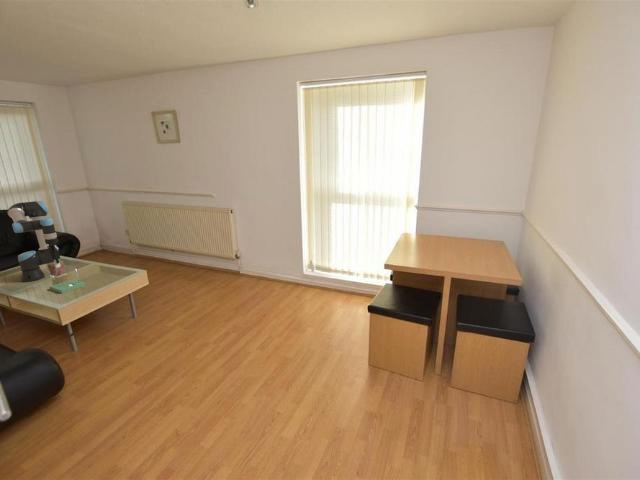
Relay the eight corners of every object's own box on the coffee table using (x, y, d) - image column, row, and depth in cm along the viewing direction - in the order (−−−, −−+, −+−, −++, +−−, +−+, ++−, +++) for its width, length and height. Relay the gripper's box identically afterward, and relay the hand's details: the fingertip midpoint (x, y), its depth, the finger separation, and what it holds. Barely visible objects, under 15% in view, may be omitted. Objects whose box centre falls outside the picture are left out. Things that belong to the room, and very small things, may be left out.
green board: (50, 289, 244) (49, 286, 243) (73, 282, 257) (72, 279, 257) (62, 293, 236) (61, 290, 235) (85, 285, 249) (84, 282, 249)
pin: (78, 282, 250) (74, 266, 246) (79, 282, 250) (75, 265, 246) (80, 283, 248) (76, 266, 244) (81, 282, 249) (77, 266, 245)
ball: (66, 287, 244) (66, 284, 242) (71, 285, 247) (72, 282, 245) (68, 290, 243) (69, 287, 241) (73, 288, 246) (74, 285, 244)
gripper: (40, 238, 239) (48, 267, 245) (49, 240, 233) (57, 269, 240) (52, 236, 245) (59, 264, 252) (61, 238, 240) (68, 266, 246)
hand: (58, 266), depth 246 cm, fingers closed
